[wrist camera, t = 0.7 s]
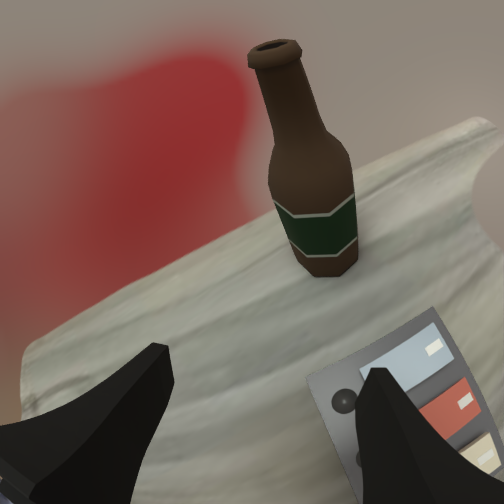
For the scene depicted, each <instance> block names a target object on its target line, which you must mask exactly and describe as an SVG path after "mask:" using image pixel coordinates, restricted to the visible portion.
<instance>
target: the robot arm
mask: <svg viewBox="0 0 504 504" xmlns="http://www.w3.org/2000/svg"><path fill="white" fill-rule="evenodd" d="M174 383H175V382H174V377H173V371H172V366H171V360H170V354H169V347H168V345H163V344H158V343H154V342H153V343H151V344H150V345H149V346H148V347H146V348H145V349H144V350H143V351H141V352H140V353H139V354H138V355H136V356H135V357H134V358H133V359H132V360H130V361H129V362H128V363H127V364H125V365H124V366H123V367H121V368H120V369H119V370H118V371H116V372H115V373H114V374H112V375H111V376H110V377H108V378H107V379H106V380H104V381H103V382H101V383H100V384H98V385H97V386H95V387H94V388H93V389H91V390H90V391H88V392H86V393H85V394H83V395H81V396H80V397H78V398H76V399H74V400H73V401H71V402H69V403H67V404H65V405H63V406H61V407H59V408H56V409H54V410H52V411H49V412H47V413H45V414H42V415H40V416H37V417H34V418H31V419H27V420H24V421H20V422H17V423H13V424H7V425H2V426H0V476H1V477H2V478H3V479H2V480H1V479H0V504H130V502H131V498H132V494H133V490H134V486H135V483H136V479H137V476H138V473H139V470H140V466H141V463H142V460H143V457H144V455H145V453H146V450H147V448H148V446H149V444H150V442H151V439H152V437H153V435H154V433H155V431H156V429H157V427H158V425H159V423H160V420H161V418H162V416H163V414H164V412H165V410H166V407H167V405H168V402H169V399H170V396H171V393H172V390H173V386H174ZM355 426H356V433H357V440H358V446H359V453H360V460H361V468H362V476H363V504H504V482H502V481H500V480H498V479H496V478H494V477H492V476H490V475H489V474H487V473H486V472H484V471H482V470H481V469H479V468H478V467H476V466H475V465H474V464H472V463H471V462H470V461H468V460H467V459H466V458H465V457H463V456H462V455H461V454H460V453H458V452H457V451H456V450H455V449H454V448H453V447H452V446H451V445H450V444H449V443H448V442H447V441H446V440H445V439H444V438H442V436H441V435H440V434H439V433H438V432H437V431H436V430H435V429H434V428H433V427H432V425H431V424H430V423H429V422H428V421H427V420H426V419H425V417H424V416H423V415H422V414H421V412H420V411H419V410H418V409H417V407H416V406H415V405H414V404H413V402H412V401H411V400H410V398H409V397H408V396H407V394H406V393H405V392H404V390H403V389H402V388H401V386H400V385H399V384H398V382H397V381H396V379H395V378H394V377H393V375H392V374H391V373H390V371H389V370H388V369H387V368H386V367H371V369H370V371H369V373H368V375H367V378H366V380H365V382H364V384H363V386H362V389H361V391H360V393H359V395H358V397H357V399H356V401H355Z"/></svg>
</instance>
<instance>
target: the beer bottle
mask: <svg viewBox="0 0 504 504" xmlns="http://www.w3.org/2000/svg"><path fill="white" fill-rule="evenodd" d="M247 56H248V67H249V68H252V69H255V72H256V75H257V78H258V81H259V85H260V88H261V91H262V95H263V98H264V102H265V105H266V108H267V112H268V115H269V119H270V122H271V125H272V129H273V135H274V142H275V145H274V148H273V151H272V155H271V160H270V164H269V174H268V185H269V188H270V192H271V195H272V199H273V201H274V204H275V206H276V209H277V211H278V214H279V216H280V219H281V221H282V224H283V226H284V229H285V231H286V234H287V236H288V239H289V242H290V244H291V247H292V249H293V252H294V254H295V256H296V258H297V260H298V262H300V263H301V264H302V265H303V266H304V267H305V268H306V269H307V270H308V271H309V272H310V273H311V274H312V275H313V276H340V275H341V274H342V273H343V272H344V271H345V270H347V269H348V268H349V267H350V266H351V265H352V264H353V263H354V262H355V261H356V260H358V231H357V216H356V203H355V192H354V183H353V174H352V167H351V163H350V158H349V154H348V153H347V151H346V150H345V148H344V147H343V145H342V143H341V142H340V141H339V140H337V139H336V138H335V137H334V136H333V135H331V134H330V133H329V132H328V131H327V130H326V128H325V126H324V124H323V122H322V119H321V117H320V115H319V112H318V109H317V105H316V102H315V100H314V96H313V93H312V90H311V87H310V85H309V82H308V79H307V76H306V73H305V71H304V68H303V65H302V62H301V60H300V57H301V56H302V49H301V48H300V46H299V45H298V43H297V42H296V41H295V40H288V39H278V40H274V41H269V42H265V43H263V44H260V45H258V46H256V47H254V48H253V49H251V51H250V52H249V53H248V55H247Z"/></svg>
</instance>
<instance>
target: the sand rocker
mask: <svg viewBox="0 0 504 504" xmlns="http://www.w3.org/2000/svg"><path fill="white" fill-rule="evenodd" d="M458 453H460V454H461V455H462V456H463V457H465V458H466V459H467V460H468V461H470V462H471V463H472V464H474V465H475V466H476V467H478V468H479V469H481V470H482V471H484V472H486V473H487V474H490V473H491V472H493V471H494V470H495V469H497V468H498V467H499V466H500V465H501V462H500V459H499V456H498V454H497V451H496V448H495V445H494V443H493V440H492V438H491V435H490V433H489V432H485V433H483V434H482V435H481V436H479V437H478V438H477V439H475V440H474V441H473V442H471V443H470V444H468V445H467V446H465V447H464V448H462V449H461V450H459V451H458Z"/></svg>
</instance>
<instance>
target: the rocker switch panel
mask: <svg viewBox="0 0 504 504" xmlns="http://www.w3.org/2000/svg"><path fill="white" fill-rule="evenodd" d="M431 323H434V324H435V326H436V328H437V329H438V331H439V333H440V334H441V336H442V338H443V339H444V341H445V343H446V345H447V346H448V348H449V350H450V352H451V353H452V355H453V357H454V359H453V360H452V361H451V362H449V363H448V364H446V365H445V366H444V367H442V368H441V369H439V370H438V371H437V372H435V373H434V374H432V375H431V376H429V377H428V378H426V379H425V380H423V381H422V382H420V383H419V384H417V385H415V386H414V387H412V388H411V389H409V390H407V391H406V392H405V393H406V394H407V396H408V397H409V398H410V400H411V401H412V402H413V404H414V405H415V406H416V407H417V409H419V408H421V407H422V406H424V405H425V404H427V403H428V402H430V401H431V400H433V399H434V398H435V397H437V396H438V395H440V394H441V393H443V392H444V391H445V390H447V389H448V388H449V387H451V386H452V385H453V384H455V383H456V382H457V381H459V380H460V379H462V378H463V377H465V378H466V380H467V382H468V384H469V386H470V388H471V390H472V392H473V394H474V396H475V398H476V400H477V403H478V405H479V407H480V409H481V412H480V413H479V414H478V415H476V416H475V417H474V418H473V419H472V420H471V421H469V422H468V423H467V424H466V425H464V426H463V427H462V428H461V429H459V430H458V431H457V432H456V433H454V434H453V435H452V436H450V437H449V438H448V439H446V441H447V442H448V443H449V444H450V445H451V446H452V447H453V448H454V449H455V450H456V451H457V452H458V451H459V450H461V449H462V448H464V447H465V446H467V445H468V444H470V443H471V442H473V441H474V440H475V439H477V438H478V437H479V436H481V435H482V434H483V433H485V432H489V433H490V435H491V438H492V440H493V443H494V445H495V448H496V451H497V454H498V456H499V459H500V462H501V465H500V466H499V467H498V468H497V469H495V470H494V471H493V472H491V473H490V474H489V475H490V476H492V477H493V476H494V475H496V474H497V473H498V472H499V471H500V470H501V469H503V468H504V446H503V443H502V440H501V438H500V435H499V432H498V430H497V427H496V425H495V422H494V420H493V418H492V415H491V413H490V411H489V408H488V406H487V404H486V402H485V400H484V397H483V395H482V393H481V391H480V389H479V387H478V385H477V383H476V381H475V379H474V377H473V375H472V373H471V371H470V369H469V367H468V365H467V363H466V362H465V360H464V358H463V356H462V354H461V352H460V351H459V349H458V347H457V345H456V344H455V342H454V340H453V338H452V337H451V335H450V333H449V332H448V330H447V328H446V327H445V325H444V323H443V322H442V320H441V318H440V317H439V315H438V314H437V312H436V310H435V309H434V307H433V306H432V307H431V308H429V309H428V310H426V311H425V312H423V313H422V314H420V315H418V316H417V317H415V318H414V319H412V320H411V321H409V322H407V323H406V324H404V325H403V326H401V327H399V328H398V329H396V330H394V331H393V332H391V333H389V334H388V335H386V336H384V337H382V338H381V339H379V340H377V341H375V342H374V343H372V344H370V345H368V346H366V347H365V348H363V349H361V350H359V351H357V352H355V353H353V354H351V355H349V356H347V357H346V358H344V359H342V360H340V361H338V362H336V363H334V364H332V365H329V366H327V367H325V368H323V369H321V370H319V371H317V372H315V373H312V374H310V375H308V376H306V377H305V378H306V381H307V383H308V385H309V388H310V390H311V392H312V395H313V397H314V399H315V402H316V404H317V407H318V409H319V411H320V414H321V416H322V418H323V421H324V423H325V425H326V428H327V430H328V432H329V435H330V437H331V439H332V442H333V444H334V446H335V449H336V451H337V453H338V456H339V458H340V461H341V463H342V465H343V468H344V470H345V472H346V475H347V477H348V479H349V482H350V484H351V486H352V489H353V491H354V493H355V496H356V498H357V500H358V503H359V504H363V476H362V468H361V460H360V453H359V446H358V440H357V433H356V426H355V401H356V399H357V397H358V395H359V393H360V391H361V389H362V386H363V384H364V382H365V380H364V378H363V376H362V374H361V372H360V370H359V369H360V368H362V367H364V366H366V365H367V364H369V363H371V362H373V361H374V360H376V359H378V358H379V357H381V356H383V355H384V354H386V353H388V352H389V351H391V350H392V349H394V348H396V347H397V346H399V345H400V344H402V343H403V342H405V341H407V340H408V339H410V338H411V337H413V336H414V335H416V334H417V333H419V332H420V331H421V330H423V329H424V328H426V327H427V326H429V325H430V324H431Z"/></svg>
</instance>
